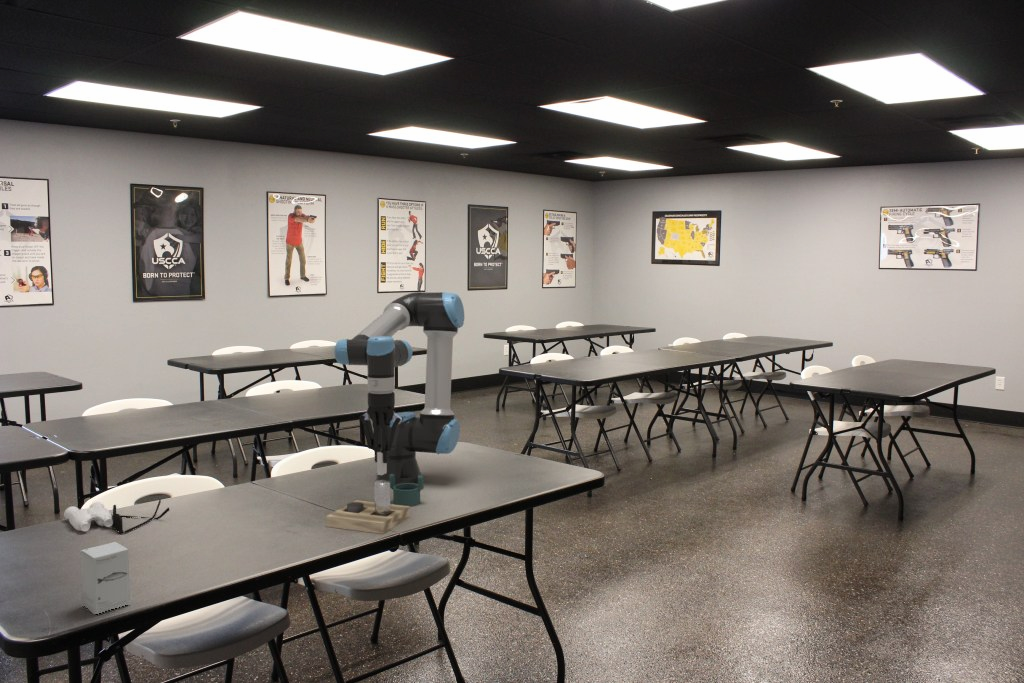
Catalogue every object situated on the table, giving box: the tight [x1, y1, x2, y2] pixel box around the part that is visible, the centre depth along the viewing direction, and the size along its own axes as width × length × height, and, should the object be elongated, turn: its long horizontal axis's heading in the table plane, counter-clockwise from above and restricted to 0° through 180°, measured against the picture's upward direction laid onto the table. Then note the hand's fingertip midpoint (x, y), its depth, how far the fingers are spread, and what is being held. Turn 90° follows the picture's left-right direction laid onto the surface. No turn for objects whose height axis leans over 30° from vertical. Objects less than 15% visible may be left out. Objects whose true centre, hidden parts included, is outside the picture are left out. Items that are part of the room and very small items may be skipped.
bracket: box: [389, 474, 425, 508], centre depth 239 cm, size 9×9×9 cm
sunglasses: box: [111, 499, 170, 535], centre depth 220 cm, size 17×14×5 cm
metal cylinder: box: [373, 480, 391, 517], centre depth 219 cm, size 4×4×12 cm
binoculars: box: [63, 501, 113, 532], centre depth 218 cm, size 10×16×5 cm, turn 40°
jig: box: [326, 499, 411, 535], centre depth 221 cm, size 16×18×4 cm
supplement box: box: [79, 541, 131, 615], centre depth 165 cm, size 7×7×13 cm
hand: (382, 473), depth 219 cm, fingers closed
